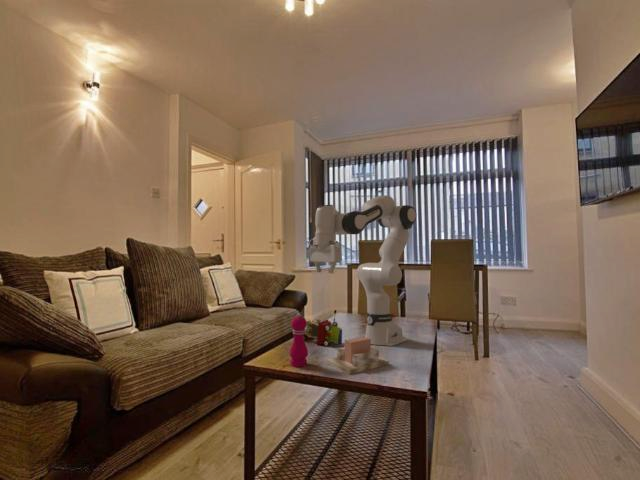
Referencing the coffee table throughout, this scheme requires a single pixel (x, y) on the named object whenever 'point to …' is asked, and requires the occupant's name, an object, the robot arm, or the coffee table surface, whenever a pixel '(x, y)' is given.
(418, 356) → the coffee table surface
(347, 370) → the bookend rack
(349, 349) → the upright pink tile
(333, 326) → the robot toy
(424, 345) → the coffee table surface
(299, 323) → the pepper mill
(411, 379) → the coffee table surface
